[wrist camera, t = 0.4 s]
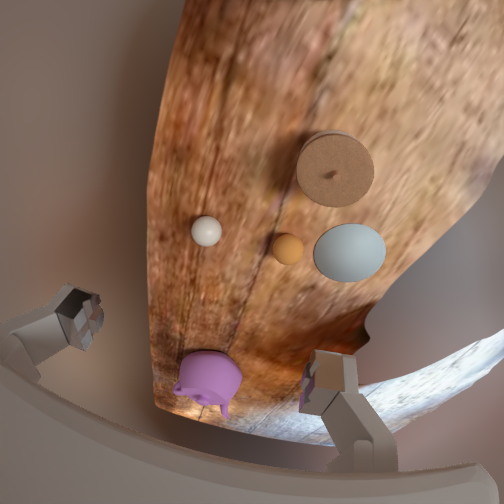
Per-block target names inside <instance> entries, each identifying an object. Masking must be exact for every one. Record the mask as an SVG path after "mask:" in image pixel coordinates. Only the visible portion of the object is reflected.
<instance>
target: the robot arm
mask: <svg viewBox="0 0 504 504" xmlns="http://www.w3.org/2000/svg"><path fill="white" fill-rule="evenodd" d="M100 302H101V299H100V296H99V295H98V294H96V293H93V292H91V291H88V290H86V289H83V288H80V287H78V286H75V285H73V284H70V283H67V284H65V285H64V286H63V287H62V288H61V289H60V290H59V292H58V293H57V294H56V295H55V296H54V297H53V298H52V299H51V300H50V302H49V303H48V304H47V305H46V306H45V307H39V308H37V309H34V310H32V311H29V312H27V313H24V314H22V315H20V316H17V317H15V318H12V319H10V320H7V321H5V322H3V323H0V504H499V495H498V488H497V485H496V483H495V481H494V480H493V478H492V477H491V476H490V475H489V474H488V472H487V471H486V470H485V469H484V468H483V467H482V466H481V465H480V464H479V463H477V462H467V463H462V464H457V465H451V466H445V467H439V468H432V469H424V470H414V471H403V472H398V456H397V442H396V439H395V438H394V436H393V435H392V433H391V432H390V431H389V429H388V428H387V427H386V425H385V424H384V423H383V421H382V420H381V418H380V417H379V416H378V414H377V413H376V412H375V410H374V409H373V408H372V406H371V405H370V404H369V402H368V401H367V399H366V398H365V397H364V395H363V394H359V391H358V378H357V368H356V358H355V356H352V355H346V354H340V353H334V352H327V351H321V350H313V351H312V353H311V355H310V362H308V363H306V366H305V368H304V371H303V374H302V380H301V388H302V390H303V393H302V394H301V396H300V403H299V413H305V414H311V415H318V416H321V419H322V421H323V422H324V424H325V426H326V428H327V430H328V432H329V434H330V436H331V438H332V440H333V442H334V444H335V446H336V447H337V450H338V451H339V453H340V455H339V456H337V457H336V458H335V459H334V460H332V461H331V462H330V463H328V464H327V470H326V472H314V471H301V470H293V469H284V468H276V467H270V466H263V465H257V464H251V463H246V462H241V461H236V460H231V459H226V458H222V457H218V456H213V455H209V454H205V453H202V452H198V451H194V450H191V449H187V448H184V447H180V446H177V445H174V444H171V443H167V442H164V441H162V440H159V439H156V438H153V437H150V436H147V435H144V434H141V433H139V432H136V431H134V430H131V429H129V428H126V427H124V426H122V425H119V424H117V423H114V422H112V421H110V420H107V419H105V418H103V417H101V416H99V415H96V414H94V413H92V412H90V411H88V410H86V409H84V408H82V407H80V406H78V405H76V404H74V403H72V402H70V401H68V400H66V399H65V398H63V397H61V396H59V395H57V394H55V393H54V392H52V391H50V390H48V389H47V388H45V387H43V386H42V385H40V384H38V381H39V379H40V378H41V375H40V373H39V371H38V370H37V369H36V367H35V366H36V365H38V364H40V363H41V362H43V361H44V360H46V359H48V358H49V357H51V356H53V355H54V354H56V353H57V352H59V351H61V350H62V349H64V348H66V347H67V346H69V345H71V346H74V347H76V348H78V349H81V350H83V351H86V350H87V348H88V347H89V345H90V343H91V342H92V341H93V334H95V333H97V332H99V330H100V329H101V327H102V325H103V321H104V312H103V309H102V308H101V306H100V305H99V304H100Z"/></svg>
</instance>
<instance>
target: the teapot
mask: <svg viewBox="0 0 504 504" xmlns="http://www.w3.org/2000/svg"><path fill="white" fill-rule="evenodd" d="M179 377H180V380H179V381H178V382H177V383H176V384H175V386H174V387H173V393H174V394H176V395H187V396H188V397H189V398H191V399H192V400H194V401H195V402H197V403H198V404H200V405H204V406H207V405H208V404H209V405H220V408H221V413H222V415H223V416H224V417H225V418H226V419H229V416H228V412H227V410H228V405H229V401H230V399H231V398H232V397H233V396H234V394H235V393H236V392H237V390H238V388H239V386H240V383H241V380H242V374H241V371H240V369H239V367H238V366H237V364H236V363H235V362H234V361H233V360H232V359H231V358H230V357H229V356H228V355H226V354H224V353H222V352H217V351H197V352H193V353H190V354H188V355H187V356H186V357H184V358H183V360H182V362H181V366H180V372H179Z"/></svg>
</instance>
